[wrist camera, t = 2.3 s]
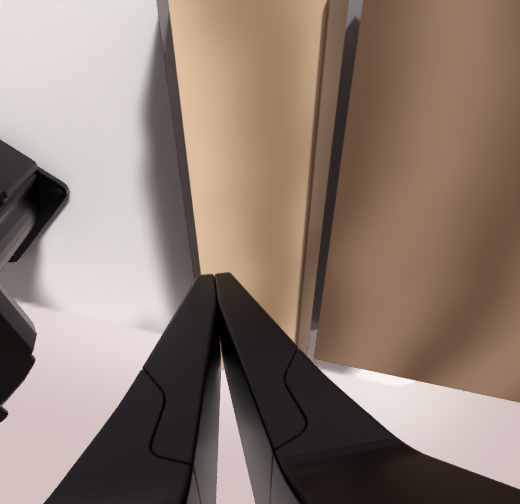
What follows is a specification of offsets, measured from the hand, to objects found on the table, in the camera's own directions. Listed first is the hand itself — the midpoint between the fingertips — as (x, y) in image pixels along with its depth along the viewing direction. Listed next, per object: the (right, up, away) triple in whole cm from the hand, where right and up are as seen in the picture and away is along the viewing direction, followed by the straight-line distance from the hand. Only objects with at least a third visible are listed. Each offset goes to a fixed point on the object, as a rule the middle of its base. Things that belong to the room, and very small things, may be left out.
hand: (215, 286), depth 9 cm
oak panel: (+1, +3, +8) cm, 9 cm away
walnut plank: (+11, +2, +7) cm, 13 cm away
